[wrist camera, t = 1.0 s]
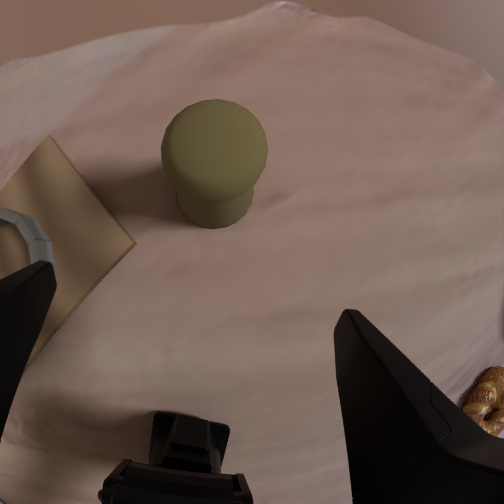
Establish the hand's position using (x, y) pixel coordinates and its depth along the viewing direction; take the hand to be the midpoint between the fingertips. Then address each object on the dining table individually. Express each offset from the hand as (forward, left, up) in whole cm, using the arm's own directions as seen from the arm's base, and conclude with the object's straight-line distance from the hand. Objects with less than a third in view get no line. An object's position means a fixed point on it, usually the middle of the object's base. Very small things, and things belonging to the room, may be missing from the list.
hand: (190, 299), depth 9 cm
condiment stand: (-4, +17, -15) cm, 23 cm away
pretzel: (-11, -36, -16) cm, 41 cm away
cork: (+6, +1, -15) cm, 16 cm away
